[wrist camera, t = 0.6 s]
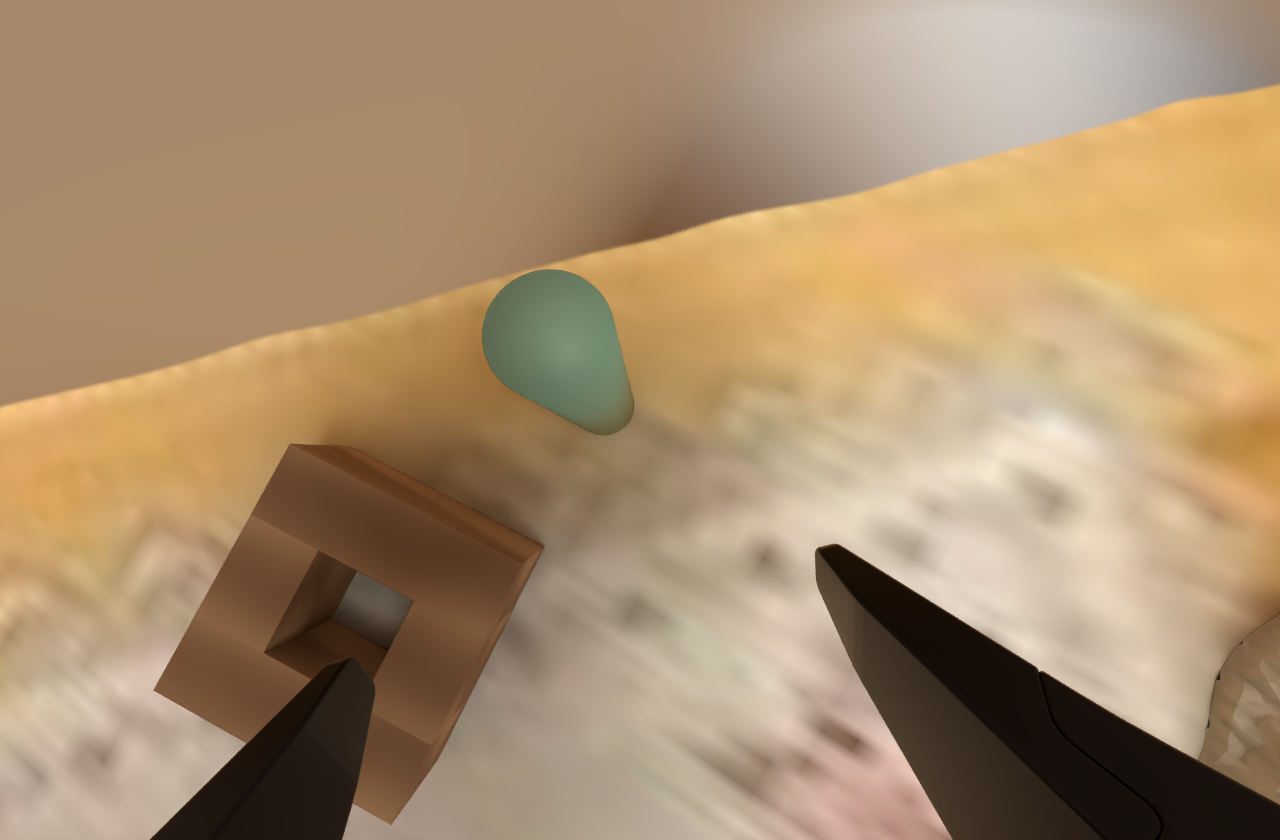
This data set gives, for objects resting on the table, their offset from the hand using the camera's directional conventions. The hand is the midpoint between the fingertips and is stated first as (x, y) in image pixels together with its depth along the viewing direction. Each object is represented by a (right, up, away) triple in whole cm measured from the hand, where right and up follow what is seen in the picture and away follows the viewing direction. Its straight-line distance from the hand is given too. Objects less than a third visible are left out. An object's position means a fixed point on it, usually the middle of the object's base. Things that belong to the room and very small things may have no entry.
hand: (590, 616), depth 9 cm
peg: (-1, +5, +15) cm, 15 cm away
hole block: (-11, -5, +14) cm, 18 cm away
